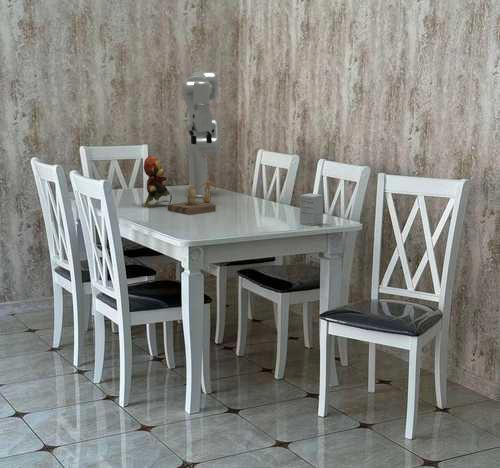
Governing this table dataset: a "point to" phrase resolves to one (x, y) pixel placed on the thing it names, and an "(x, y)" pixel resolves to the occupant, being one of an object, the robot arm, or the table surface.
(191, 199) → the peg
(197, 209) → the socket block
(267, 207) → the table surface
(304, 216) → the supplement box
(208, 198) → the figurine
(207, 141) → the robot arm
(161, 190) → the red green tall figure
